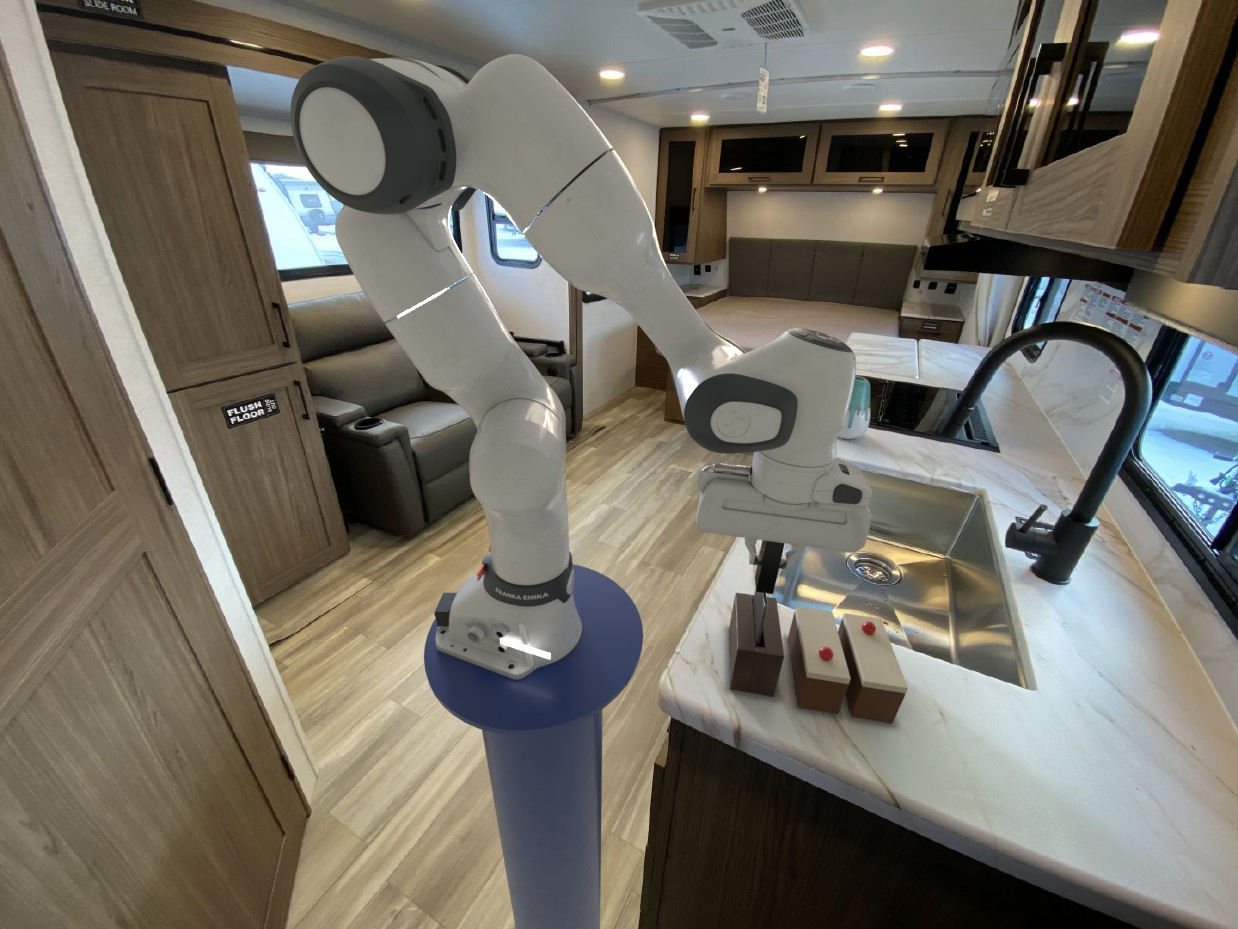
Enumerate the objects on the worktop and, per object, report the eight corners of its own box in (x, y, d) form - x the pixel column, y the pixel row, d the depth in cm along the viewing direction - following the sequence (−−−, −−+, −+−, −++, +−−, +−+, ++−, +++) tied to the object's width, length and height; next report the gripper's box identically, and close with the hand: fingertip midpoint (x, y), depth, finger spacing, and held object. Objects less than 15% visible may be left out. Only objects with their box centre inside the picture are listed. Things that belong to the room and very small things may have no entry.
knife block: (729, 689, 69) (737, 649, 65) (728, 630, 78) (735, 592, 74) (774, 697, 68) (784, 656, 64) (767, 636, 77) (776, 598, 73)
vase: (861, 429, 151) (877, 373, 142) (867, 445, 141) (885, 385, 133) (821, 424, 154) (835, 369, 145) (825, 439, 144) (839, 380, 135)
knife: (745, 660, 67) (769, 548, 59) (743, 617, 74) (764, 512, 66) (761, 663, 67) (788, 551, 58) (758, 620, 74) (781, 514, 65)
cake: (797, 707, 66) (810, 664, 62) (787, 639, 77) (797, 598, 73) (892, 724, 64) (912, 680, 61) (868, 652, 75) (884, 610, 71)
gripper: (700, 473, 57) (687, 567, 63) (888, 496, 54) (855, 592, 60) (701, 450, 62) (690, 539, 69) (872, 469, 59) (843, 560, 66)
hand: (768, 564), depth 64 cm, fingers closed on knife, 2 cm apart
